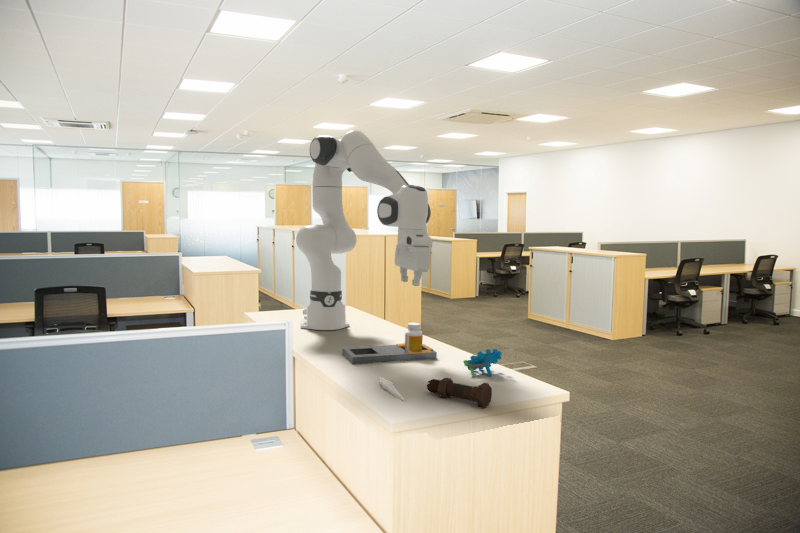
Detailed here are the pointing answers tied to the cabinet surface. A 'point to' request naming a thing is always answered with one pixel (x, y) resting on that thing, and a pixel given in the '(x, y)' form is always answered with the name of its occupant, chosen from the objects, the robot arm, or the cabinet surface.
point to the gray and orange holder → (386, 354)
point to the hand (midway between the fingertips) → (409, 283)
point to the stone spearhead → (390, 388)
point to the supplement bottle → (413, 337)
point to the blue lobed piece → (483, 361)
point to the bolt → (461, 391)
